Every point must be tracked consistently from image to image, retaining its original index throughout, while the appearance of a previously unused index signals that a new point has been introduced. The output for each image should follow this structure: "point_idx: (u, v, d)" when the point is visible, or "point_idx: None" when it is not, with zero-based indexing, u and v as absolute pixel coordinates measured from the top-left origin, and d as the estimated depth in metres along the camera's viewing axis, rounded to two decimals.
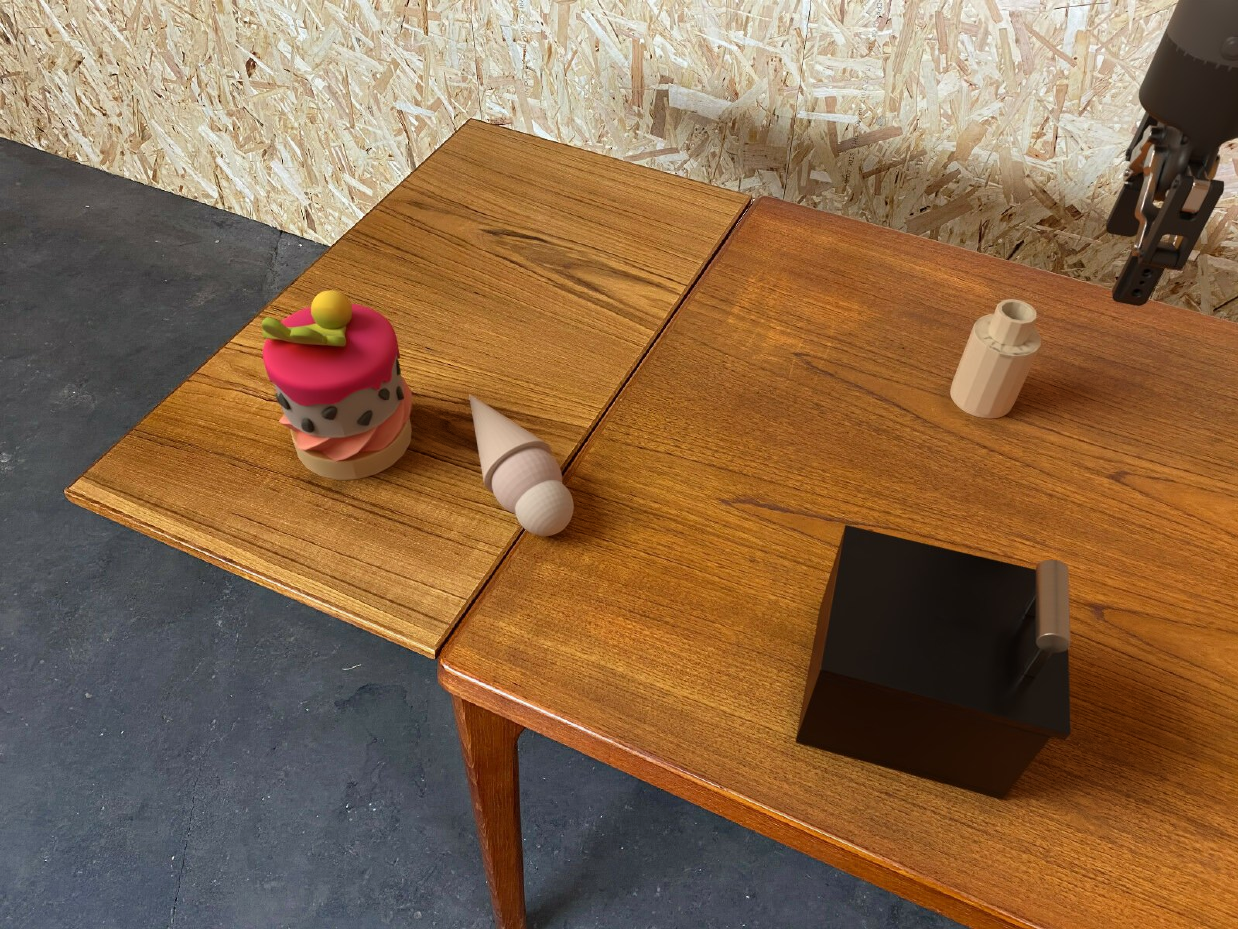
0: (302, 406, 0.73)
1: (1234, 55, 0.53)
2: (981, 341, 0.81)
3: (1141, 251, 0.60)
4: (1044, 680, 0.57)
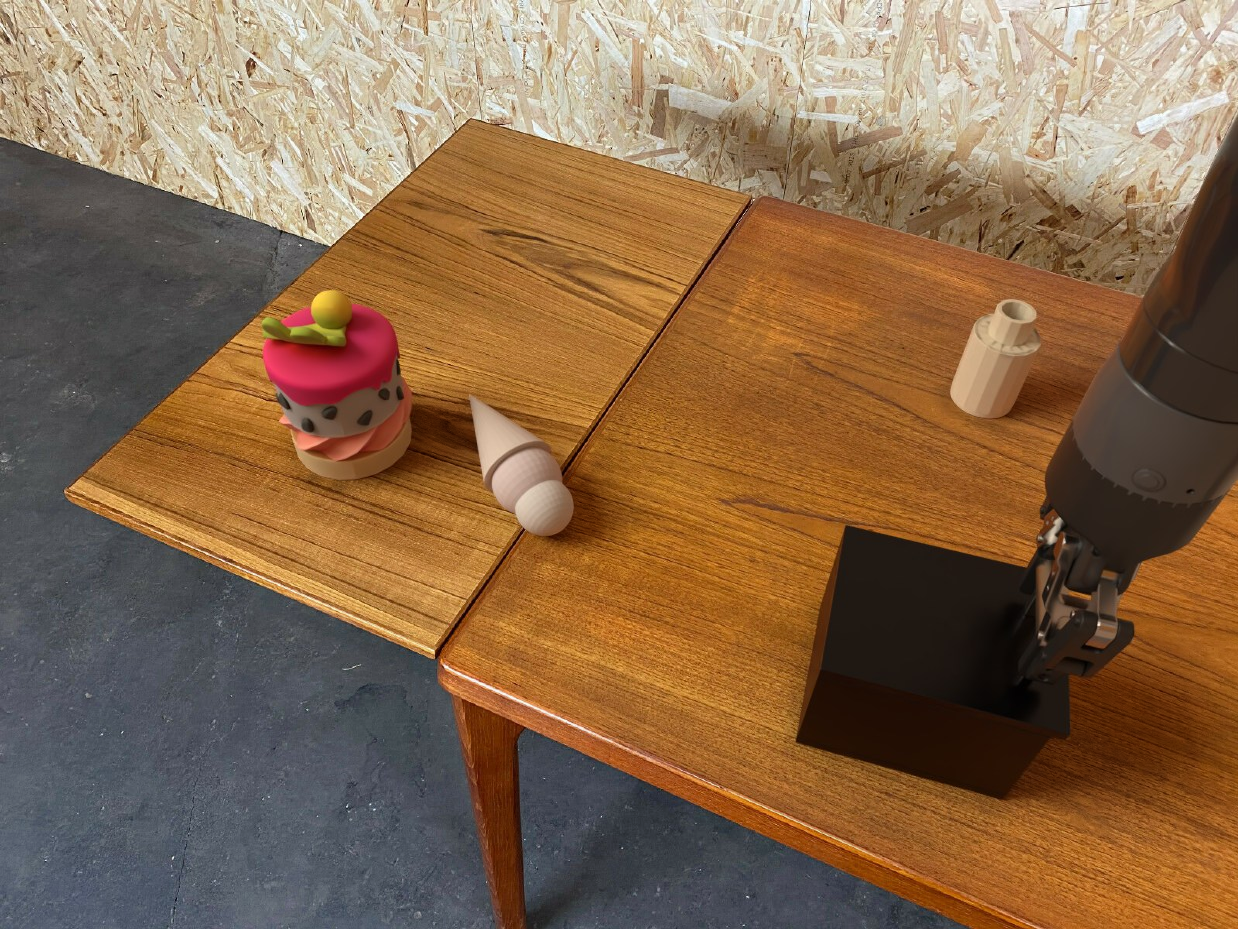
0: (302, 406, 0.73)
1: (1149, 488, 0.43)
2: (981, 341, 0.81)
3: (1043, 655, 0.51)
4: None
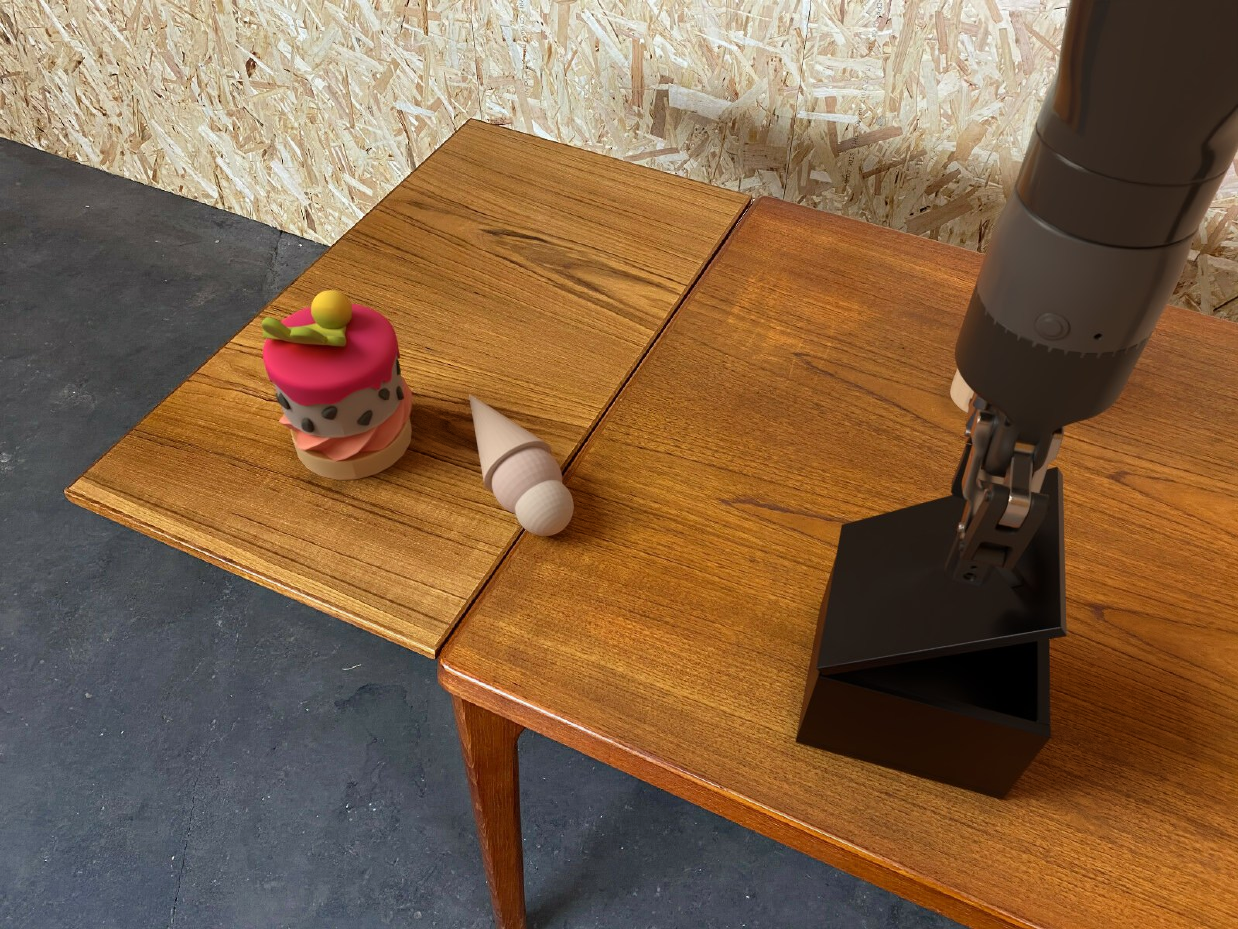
0: (302, 406, 0.73)
1: (1053, 335, 0.39)
2: None
3: (961, 545, 0.47)
4: (1032, 583, 0.51)
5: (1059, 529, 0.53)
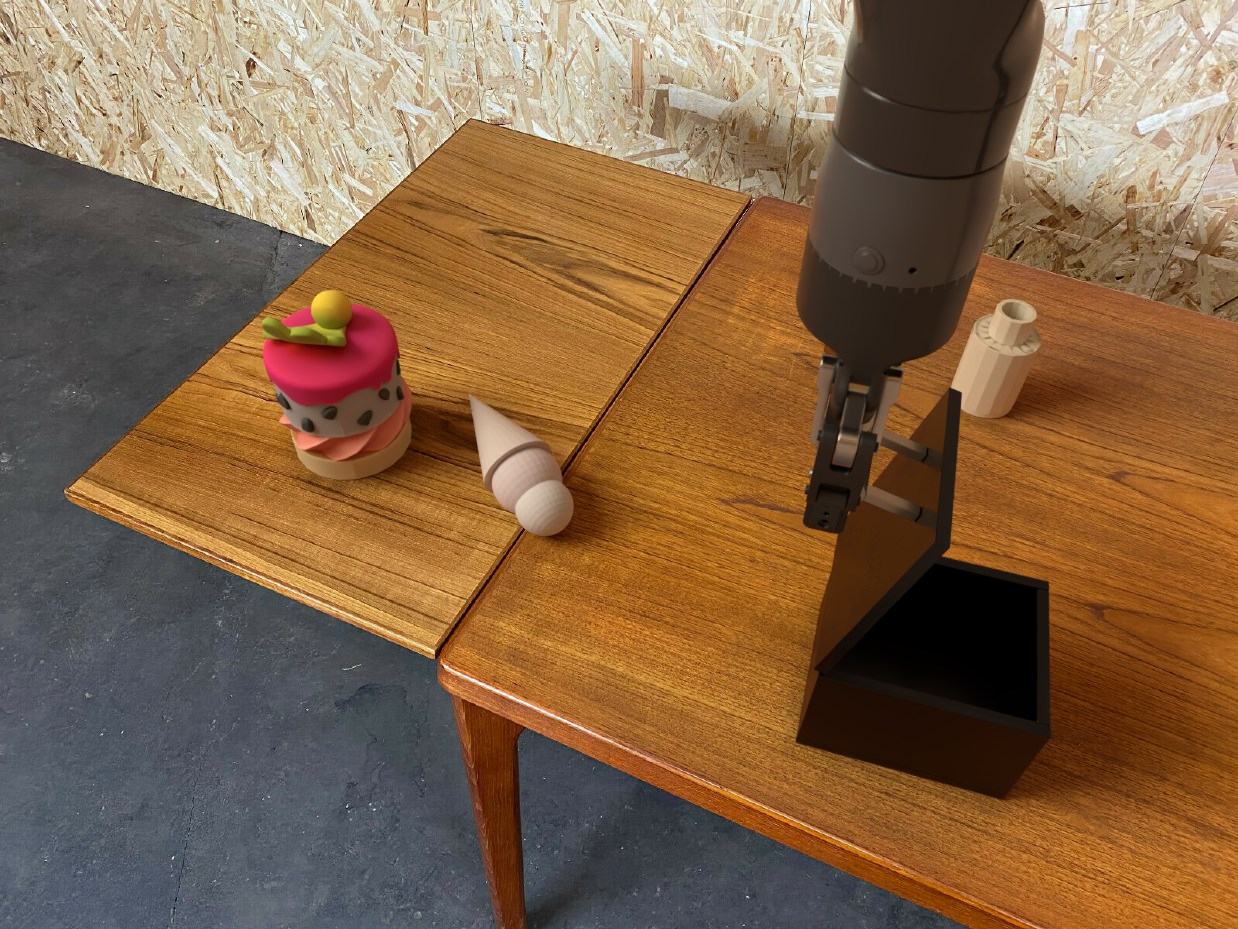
0: (302, 406, 0.73)
1: (869, 270, 0.39)
2: (981, 341, 0.81)
3: (806, 488, 0.47)
4: (925, 510, 0.50)
5: (946, 447, 0.51)
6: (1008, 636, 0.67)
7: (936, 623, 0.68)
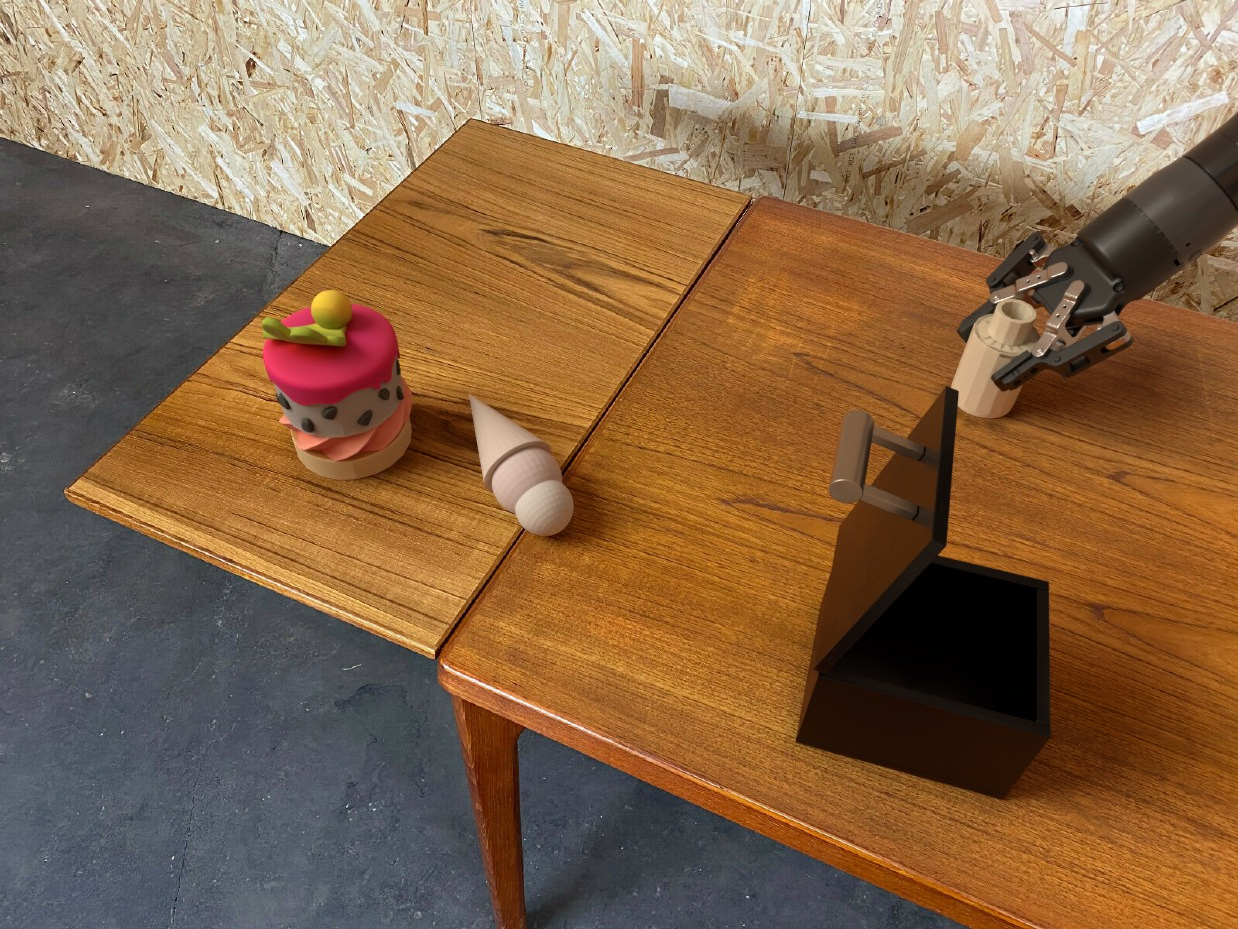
0: (302, 406, 0.73)
1: None
2: (980, 341, 0.81)
3: None
4: (922, 508, 0.50)
5: (942, 445, 0.51)
6: (1008, 636, 0.67)
7: (936, 623, 0.68)
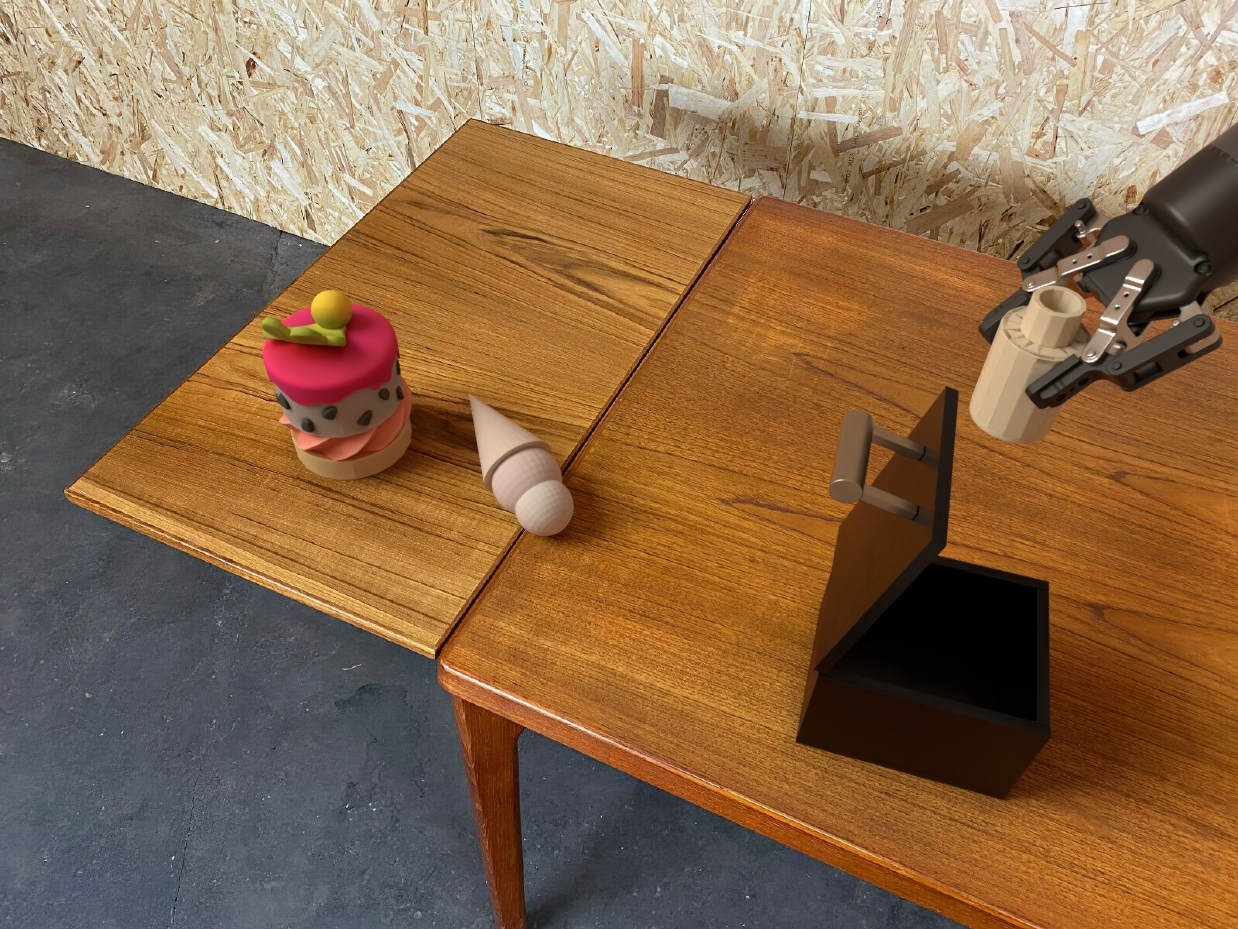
0: (302, 406, 0.73)
1: None
2: (1011, 342, 0.61)
3: None
4: (922, 508, 0.50)
5: (942, 445, 0.51)
6: (1008, 636, 0.67)
7: (936, 623, 0.68)
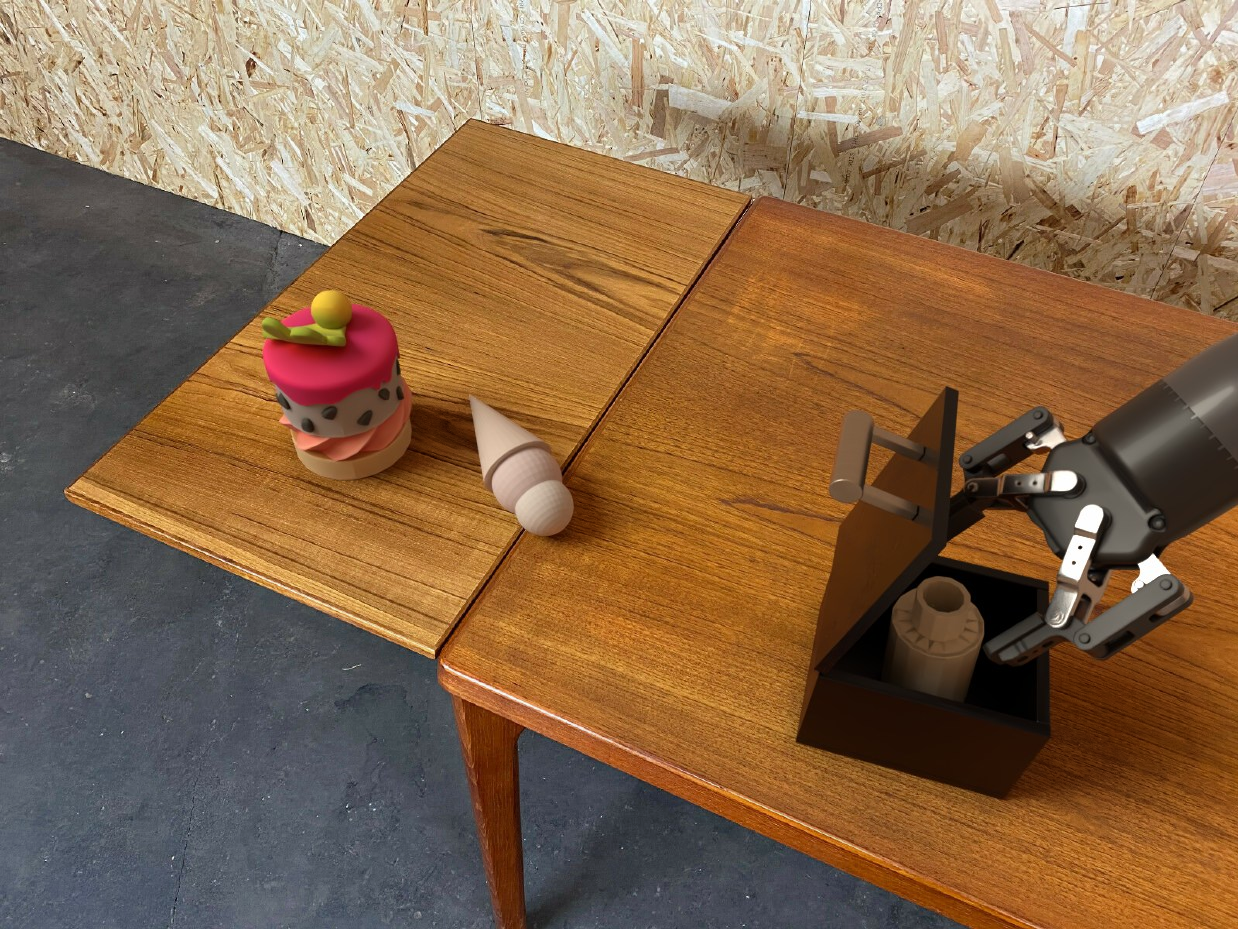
0: (302, 406, 0.73)
1: None
2: (901, 637, 0.60)
3: None
4: (922, 508, 0.50)
5: (942, 445, 0.51)
6: None
7: None
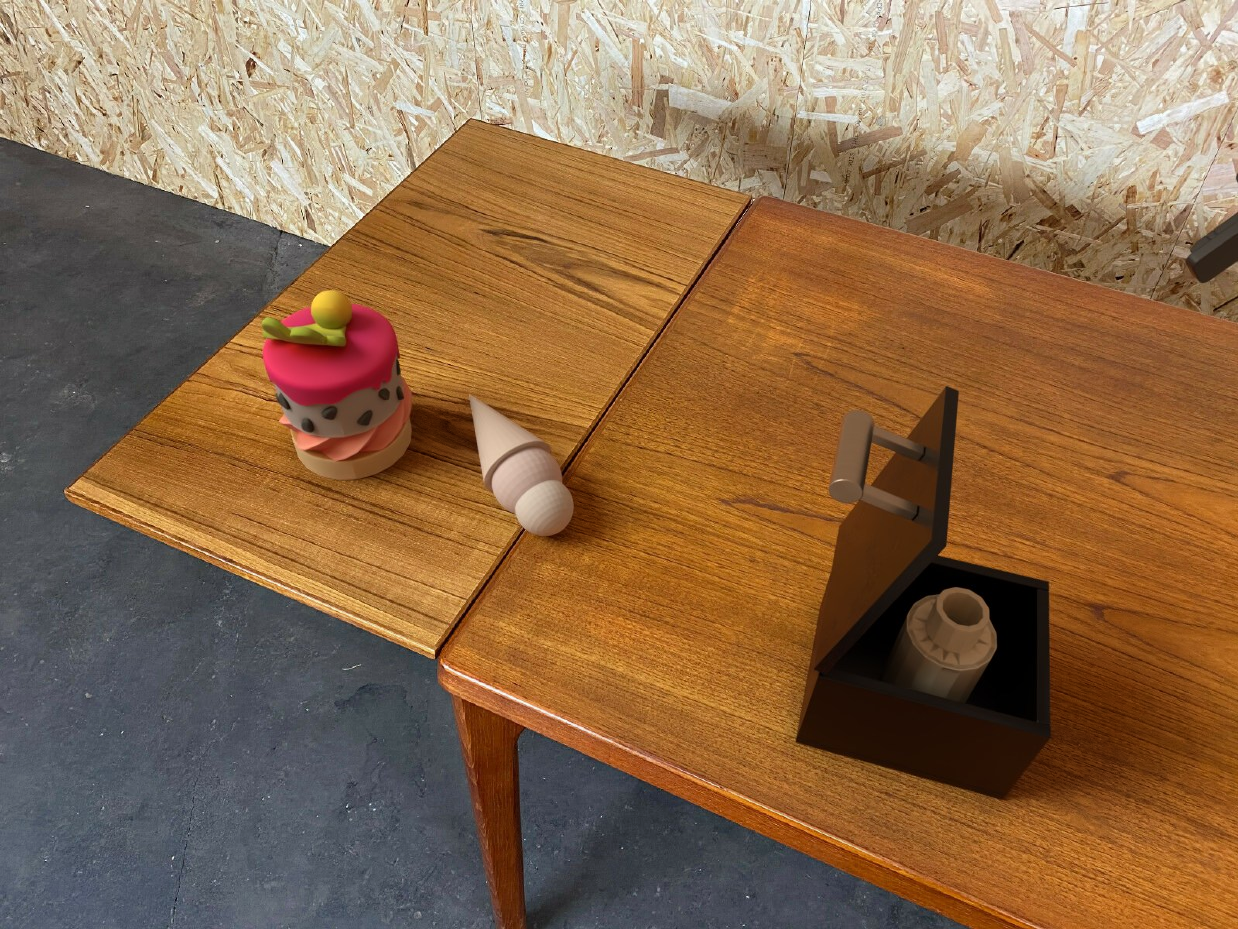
0: (302, 406, 0.73)
1: None
2: (916, 646, 0.60)
3: None
4: (922, 508, 0.50)
5: (942, 445, 0.51)
6: (1008, 636, 0.67)
7: None
